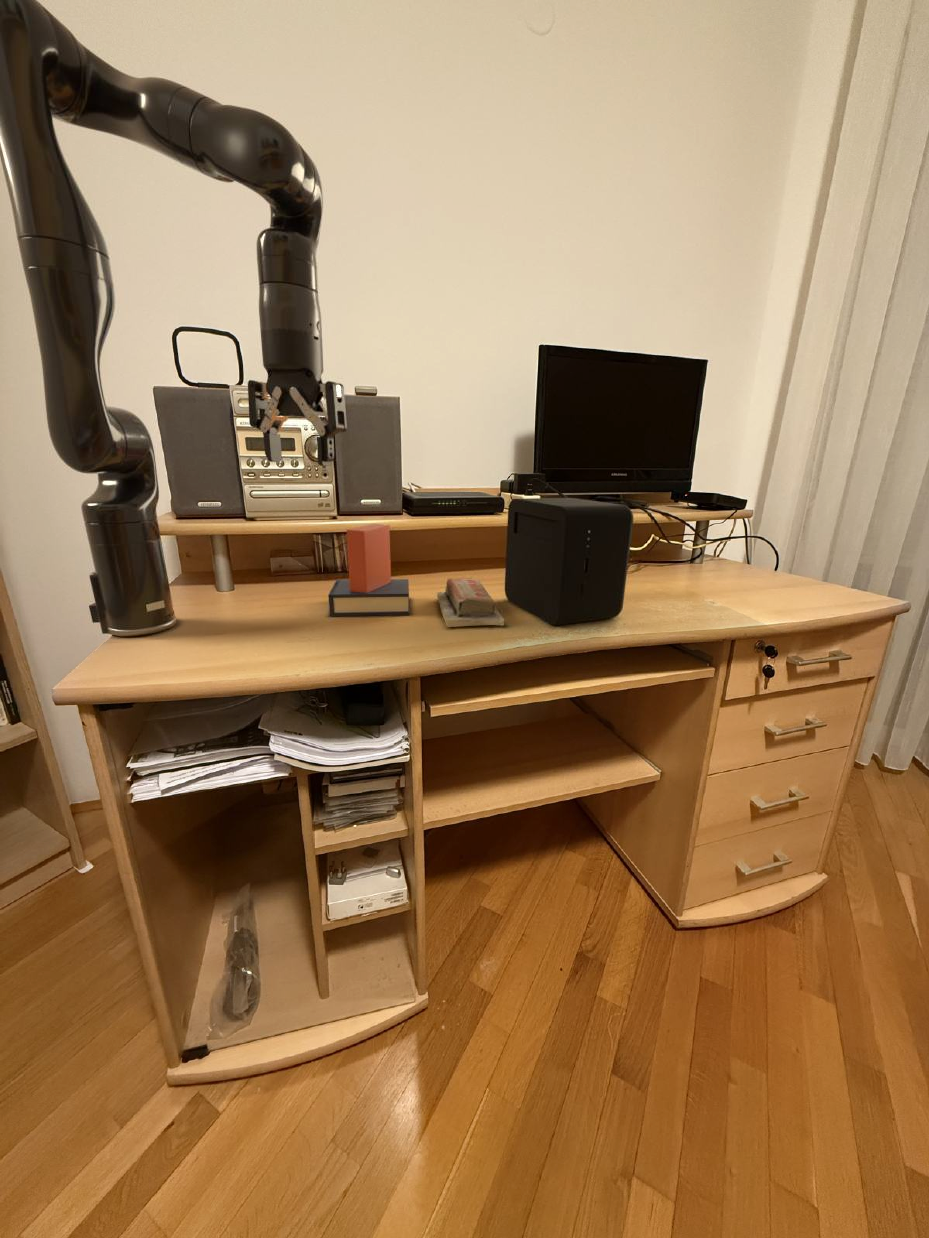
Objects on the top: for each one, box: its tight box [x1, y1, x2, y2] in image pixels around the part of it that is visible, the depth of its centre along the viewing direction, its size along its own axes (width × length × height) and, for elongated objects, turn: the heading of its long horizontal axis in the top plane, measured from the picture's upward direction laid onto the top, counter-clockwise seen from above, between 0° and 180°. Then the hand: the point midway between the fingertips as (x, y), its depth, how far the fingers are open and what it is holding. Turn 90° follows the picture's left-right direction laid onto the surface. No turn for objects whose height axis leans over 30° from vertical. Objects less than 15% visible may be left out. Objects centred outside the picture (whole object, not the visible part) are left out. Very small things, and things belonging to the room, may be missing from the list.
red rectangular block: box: [346, 523, 392, 593], centre depth 89 cm, size 9×4×11 cm, turn 160°
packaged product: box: [436, 577, 505, 628], centre depth 90 cm, size 18×5×10 cm
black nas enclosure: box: [504, 497, 634, 626], centre depth 90 cm, size 20×15×20 cm
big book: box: [327, 578, 410, 617], centre depth 92 cm, size 14×11×4 cm
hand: (299, 463), depth 68 cm, fingers open, 8 cm apart
